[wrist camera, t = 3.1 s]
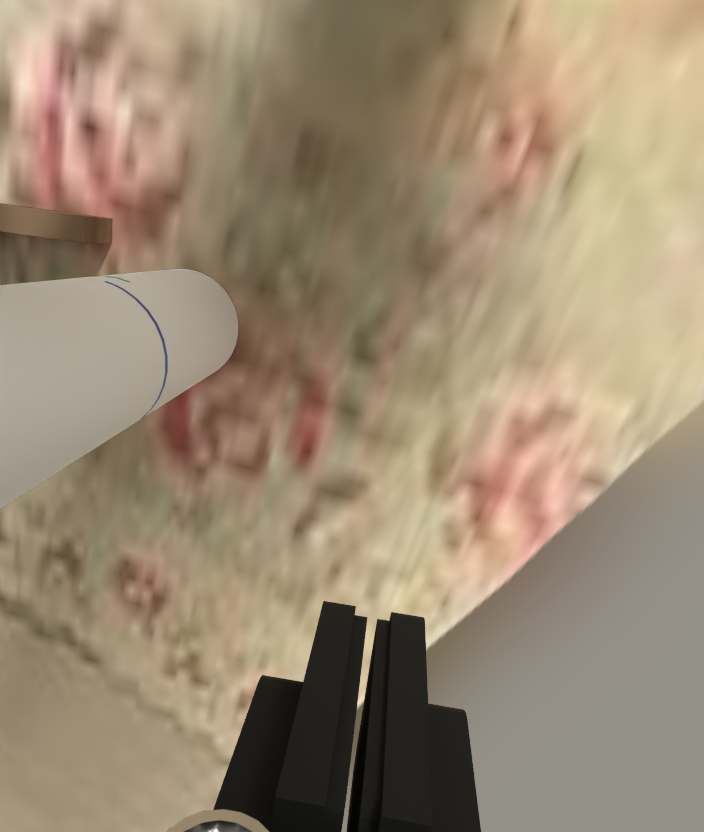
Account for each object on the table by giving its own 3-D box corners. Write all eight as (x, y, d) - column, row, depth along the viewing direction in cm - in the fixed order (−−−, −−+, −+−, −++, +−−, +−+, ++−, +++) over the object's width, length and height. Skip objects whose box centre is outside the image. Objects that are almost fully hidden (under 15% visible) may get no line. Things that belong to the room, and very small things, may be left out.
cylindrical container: (206, 399, 43) (-57, 595, 19) (112, 342, 42) (-280, 468, 18) (258, 307, 41) (40, 393, 17) (160, 246, 41) (-206, 246, 16)
